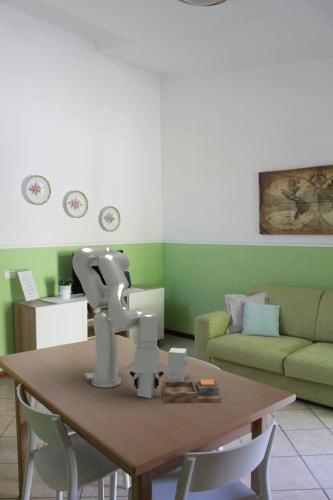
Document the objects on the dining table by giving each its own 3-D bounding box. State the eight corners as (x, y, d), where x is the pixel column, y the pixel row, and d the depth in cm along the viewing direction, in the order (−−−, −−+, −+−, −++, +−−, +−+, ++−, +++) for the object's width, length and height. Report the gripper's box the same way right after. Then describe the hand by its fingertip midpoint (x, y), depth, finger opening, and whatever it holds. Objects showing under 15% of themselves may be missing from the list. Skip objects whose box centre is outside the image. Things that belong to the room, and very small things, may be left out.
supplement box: (184, 381, 189) (184, 353, 188) (167, 380, 190) (167, 351, 189) (186, 375, 196) (187, 348, 195) (170, 374, 197) (171, 347, 197)
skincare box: (155, 394, 173) (156, 365, 172) (150, 398, 169) (151, 368, 168) (141, 392, 176) (142, 363, 175) (136, 395, 172) (137, 366, 171)
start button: (201, 390, 171) (201, 384, 171) (199, 385, 176) (199, 379, 176) (214, 390, 171) (214, 384, 171) (212, 385, 176) (212, 379, 176)
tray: (163, 403, 165) (163, 391, 165) (161, 389, 179) (161, 378, 179) (220, 402, 167) (220, 390, 167) (213, 388, 181) (213, 378, 181)
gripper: (125, 346, 167) (124, 391, 168) (170, 346, 168) (168, 391, 169) (125, 341, 174) (124, 384, 175) (168, 341, 175) (167, 384, 176)
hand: (146, 387), depth 172 cm, fingers closed on skincare box, 7 cm apart
